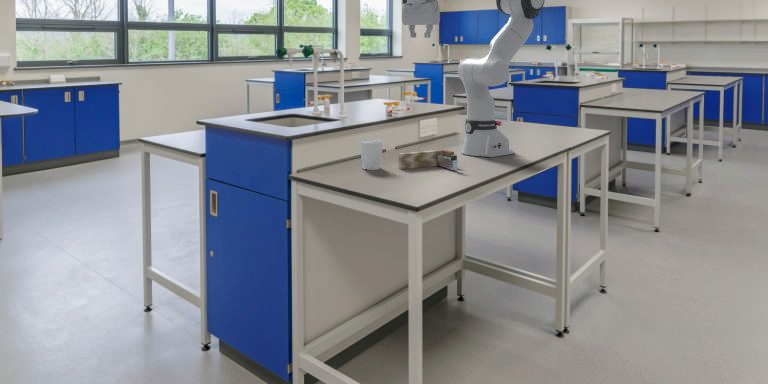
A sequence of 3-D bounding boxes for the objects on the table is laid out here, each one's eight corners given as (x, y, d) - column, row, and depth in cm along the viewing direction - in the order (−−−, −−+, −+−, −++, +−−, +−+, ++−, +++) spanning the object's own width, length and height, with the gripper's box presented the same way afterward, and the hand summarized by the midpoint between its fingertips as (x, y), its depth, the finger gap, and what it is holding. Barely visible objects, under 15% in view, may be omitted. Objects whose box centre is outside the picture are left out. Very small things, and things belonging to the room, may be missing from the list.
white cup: (368, 171, 220) (368, 143, 217) (356, 167, 226) (356, 140, 224) (386, 169, 224) (386, 141, 222) (373, 165, 231) (374, 138, 228)
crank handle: (435, 164, 231) (435, 151, 229) (441, 164, 232) (442, 150, 231) (451, 170, 221) (452, 156, 220) (458, 169, 222) (458, 155, 221)
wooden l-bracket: (445, 163, 235) (445, 149, 234) (453, 166, 230) (454, 151, 229) (398, 168, 226) (398, 153, 225) (406, 171, 221) (406, 156, 220)
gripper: (444, -2, 220) (443, 38, 224) (413, 0, 237) (412, 37, 241) (430, -3, 217) (429, 37, 221) (399, -1, 234) (398, 37, 238)
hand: (420, 37), depth 231 cm, fingers open, 8 cm apart
